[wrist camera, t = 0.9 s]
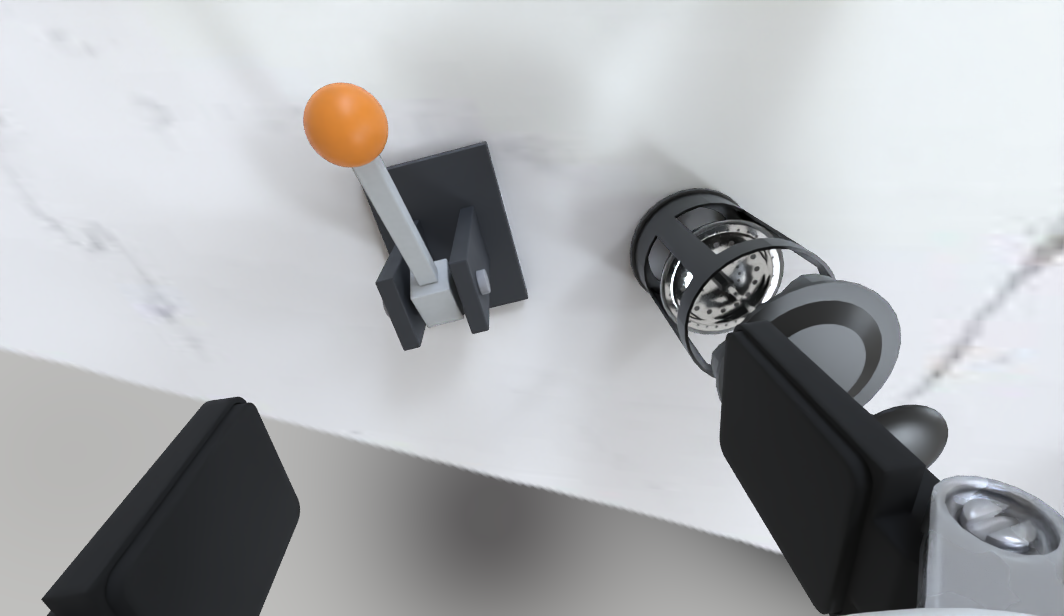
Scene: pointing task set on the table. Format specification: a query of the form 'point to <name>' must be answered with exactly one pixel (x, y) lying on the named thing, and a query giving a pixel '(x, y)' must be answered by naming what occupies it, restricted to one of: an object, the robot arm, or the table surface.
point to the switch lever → (379, 188)
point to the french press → (775, 305)
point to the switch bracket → (452, 238)
